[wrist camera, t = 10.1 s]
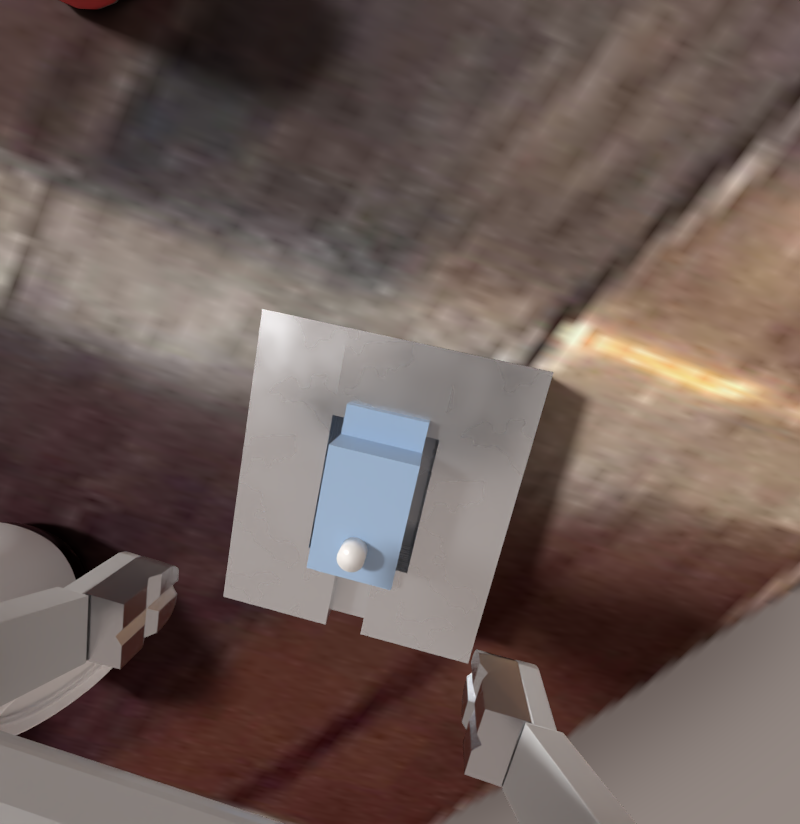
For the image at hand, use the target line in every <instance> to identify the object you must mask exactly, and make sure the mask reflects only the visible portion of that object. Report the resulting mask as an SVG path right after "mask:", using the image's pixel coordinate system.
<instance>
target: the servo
mask: <svg viewBox="0 0 800 824" xmlns="http://www.w3.org/2000/svg"><path fill="white" fill-rule="evenodd" d="M429 422H430V420H425V419H421V418H417V417H412V416H408V415H404V414H399V413H395V412H391V411H386V410H382V409H378V408H373V407H369V406H365V405H360V404H356V403H352V402H349V403H347V405H346V411H345V416H344V421H343V427H342V432H341V434H340V435H339V436H338V437H337V438H336V439H335V440H334V441H332V442H331V443H330V444H329V447H328V452H327V458H326V463H325V469H324V474H323V480H322V485H321V491H320V496H319V502H318V507H317V513H316V518H315V524H314V529H313V535H312V540H311V546H310V551H309V557H308V562H307V568H310V569H314V570H316V571H319V572H323V573H327V574H331V575H334V576H338V577H342V578H346V579H350V580H353V581H357V582H361V583H365V584H369V585H372V586H376V587H380V588H384V589H387V590H391V588H392V584H393V579H394V575H395V571H396V567H397V562H398V558H399V554H400V550H401V545H402V541H403V537H404V533H405V528H406V524H407V520H408V515H409V511H410V507H411V503H412V498H413V494H414V490H415V486H416V481H417V477H418V473H419V469H420V464H421V458H422V452H423V448H424V443H425V439H426V435H427V431H428V426H429Z"/></svg>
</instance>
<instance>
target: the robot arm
mask: <svg viewBox="0 0 800 824" xmlns="http://www.w3.org/2000/svg"><path fill="white" fill-rule="evenodd" d="M178 571H179V569H178V568H177V567H176V566H173V565H170V564H167V563H164V562H160V561H157V560H154V559H151V558H147V557H144V556H139V555H136V554H133V553H130V552H126V551H125V552H120V553H118V554H116V555H115V556H113V557H111V558H110V559H108V560H107V561H105V562H104V563H102V564H101V565H99V566H97V567H96V568H94V569H93V570H91V571H90V572H88V573H86V574H85V575H83V576H82V577H80V578H79V579H77V580H76V581H74V582H72V583H71V584H69V585H68V586H66V587H65V588H61V587H55V588H51V589H47V590H44V591H40V592H36V593H33V594H29V595H25V596H22V597H18V598H14V599H11V600H7V601H3V602H0V706H2V705H4V704H6V703H8V702H10V701H12V700H14V699H16V698H18V697H20V696H22V695H24V694H26V693H28V692H30V691H32V690H34V689H36V688H38V687H40V686H42V685H44V684H45V683H47V682H49V681H51V680H53V679H55V678H57V677H59V676H61V675H63V674H65V673H67V672H69V671H71V670H73V669H75V668H77V667H79V666H81V665H83V664H85V663H86V661H90V662H94V663H98V664H102V665H105V666H109V667H113V668H117V669H121V668H122V667H123V666H124V665H125V664H126V663H127V662H128V661H129V660H130V659H131V658H132V657H133V656H134V655H135V654H136V653H137V652H138V651H139V650H140V649H141V648H142V647H143V643H144V638H145V637H148V636H150V635H152V634H155V633H157V632H158V631H159V630H160V629H161V628H162V627H163V626H164V625H165V624H166V622H167V620H168V619H169V617H170V615H171V614H172V612H173V610H174V607H175V604H176V597H177V594H176V592H175V590H174V588H173V586H172V585H173V584H174V583H175V582H176V581H177V580H178ZM471 667H472V673H471V674H470V675H468V676H467V678H466V681H465V685H464V690H463V696H462V723H463V725H464V726H465V728H466V733H465V736H464V739H463V758H464V774H465V775H468V776H471V777H474V778H477V779H480V780H483V781H486V782H489V783H492V784H494V785H497V786H500V787H503V788H502V791H503V793H504V795H505V797H506V798H507V801H508V803H509V805H510V807H511V809H512V811H513V813H514V815H515V817H516V819H517V821H518V823H519V824H636V822H635V821H634V820H633V819H632V817H631V816H630V815H629V814H628V813H627V811H626V810H625V809H624V808H623V806H622V805H621V804H620V803H619V801H618V800H617V799H616V798H615V796H614V795H613V794H612V793H611V791H610V790H609V789H608V788H607V787H606V785H605V784H604V783H603V782H602V780H601V779H600V778H599V777H598V775H597V774H596V773H595V772H594V770H593V769H592V768H591V767H590V765H589V764H588V763H587V762H586V761H585V759H584V758H583V757H582V756H581V754H580V753H579V752H578V751H577V749H576V748H575V747H574V746H573V744H572V743H571V742H570V741H569V739H568V738H567V737H566V736H565V735H564V733H561V732H558V731H557V730H556V726H555V723H554V720H553V716H552V713H551V709H550V706H549V703H548V699H547V696H546V692H545V689H544V686H543V682H542V679H541V675H540V672H539V669H538V667H537V666H536V665H534V664H530V663H526V662H523V661H519V660H513V659H510V658H506V657H502V656H499V655H495V654H491V653H487V652H484V651H480V650H476V651H475V652H474V655H473V658H472V661H471ZM0 824H284V823H281V822H278V821H275V820H272V819H269V818H266V817H263V816H260V815H257V814H254V813H251V812H248V811H245V810H242V809H239V808H236V807H232V806H229V805H226V804H223V803H220V802H217V801H214V800H211V799H208V798H205V797H202V796H199V795H196V794H193V793H190V792H187V791H184V790H181V789H178V788H175V787H172V786H169V785H166V784H163V783H159V782H156V781H153V780H150V779H147V778H144V777H141V776H138V775H135V774H132V773H129V772H126V771H123V770H120V769H117V768H114V767H111V766H108V765H105V764H102V763H99V762H95V761H92V760H89V759H86V758H83V757H80V756H77V755H74V754H71V753H68V752H65V751H62V750H59V749H56V748H53V747H50V746H47V745H44V744H40V743H37V742H34V741H31V740H28V739H25V738H22V737H19V736H16V735H13V734H10V733H7V732H4V731H1V730H0Z"/></svg>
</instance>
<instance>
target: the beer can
mask: <svg viewBox="0 0 800 824" xmlns="http://www.w3.org/2000/svg"><path fill="white" fill-rule="evenodd" d="M60 1H62V2H64V3H66V4H69V5H71V6H73V7H75V8H78V9H102V8H104V7H107V6H110V5H112V4H115V3H116V2H117V1H119V0H60Z"/></svg>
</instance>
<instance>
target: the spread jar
mask: <svg viewBox="0 0 800 824" xmlns="http://www.w3.org/2000/svg"><path fill="white" fill-rule="evenodd" d="M83 575H85V570H84V567H83V565H82V563H81V561H80V559H79V557H78V556H77V554H76V553H75V552H74V551H73V549H72V548H71V547H70V546H69V545H68V544H67V543H65V542H64V541H63V540H61V539H60V538H58V537H57V536H55V535H53V534H52V533H50V532H47V531H45V530H43V529H40V528H37V527H34V526H30V525H26V524H20V523H13V522H0V602H3V601H7V600H11V599H14V598H18V597H22V596H25V595H29V594H33V593H36V592H40V591H44V590H47V589H51V588H55V587H61V588H65V587H66V586H68V585H69V584H71V583H72V582H74V581H76V580H77V579H79V578H80V577H82V576H83ZM112 668H113V667H109V666H105V665H102V664H98V663H94V662H90V661H86V663H85V664H83V665H81V666H79V667H77V668H75V669H73V670H71V671H69V672H67V673H65V674H63V675H61V676H59V677H57V678H55V679H53V680H51V681H49V682H47V683H45V684H44V685H42V686H40V687H38V688H36V689H34V690H32V691H30V692H28V693H26V694H24V695H22V696H20V697H18V698H16V699H14V700H12V701H10V702H8V703H6V704H4V705H2V706H0V730H1V731H4V732H7V733H10V734H13V735H18V734H20V733H22V732H25V731H27V730H28V729H30V728H32V727H34V726H36V725H38V724H40V723H41V722H43V721H45V720H46V719H48V718H50V717H51V716H53V715H54V714H56V713H57V712H59V711H60V710H62V709H63V708H65V707H66V706H68V705H69V704H70V703H72V702H73V701H75V700H76V699H77V698H79V697H80V696H81V695H83V694H84V693H85V692H86V691H88V690H89V689H90V688H91V687H92V686H94V685H95V684H96V683H97V682H98V681H99V680H101V679H102V678H103V677H104V676H105V675H106V674H107V673H108V672H109V671H110V670H111V669H112Z"/></svg>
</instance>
